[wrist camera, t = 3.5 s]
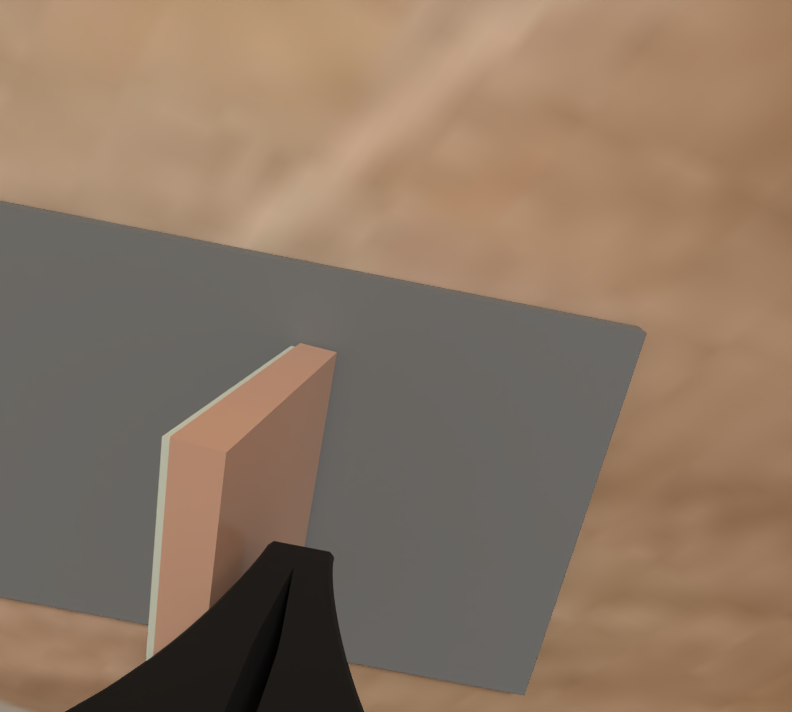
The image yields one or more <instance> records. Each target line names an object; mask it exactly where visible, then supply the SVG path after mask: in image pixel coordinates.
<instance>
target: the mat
mask: <svg viewBox="0 0 792 712" xmlns="http://www.w3.org/2000/svg"><path fill="white" fill-rule="evenodd" d="M646 334H647V333H646V332H645V331H643V330H642V329H641V328H639V327H637V326H632V325H627V324H622V323H617V322H612V321H607V320H602V319H597V318H592V317H586V316H581V315H576V314H571V313H566V312H561V311H556V310H551V309H546V308H541V307H536V306H531V305H526V304H521V303H516V302H511V301H505V300H500V299H495V298H490V297H485V296H480V295H475V294H470V293H465V292H460V291H455V290H450V289H445V288H440V287H435V286H429V285H424V284H419V283H414V282H409V281H404V280H399V279H394V278H389V277H384V276H379V275H374V274H369V273H364V272H359V271H353V270H348V269H343V268H338V267H333V266H328V265H323V264H318V263H313V262H308V261H303V260H298V259H293V258H288V257H283V256H277V255H272V254H267V253H262V252H257V251H252V250H247V249H242V248H237V247H232V246H227V245H222V244H217V243H212V242H207V241H201V240H196V239H191V238H186V237H181V236H176V235H171V234H166V233H161V232H156V231H151V230H146V229H141V228H136V227H131V226H125V225H120V224H115V223H110V222H105V221H100V220H95V219H90V218H85V217H80V216H75V215H70V214H65V213H60V212H55V211H49V210H44V209H39V208H34V207H29V206H24V205H19V204H14V203H9V202H4V201H0V597H2V598H7V599H13V600H18V601H23V602H29V603H34V604H39V605H45V606H50V607H55V608H61V609H66V610H71V611H77V612H82V613H87V614H93V615H98V616H103V617H109V618H114V619H119V620H125V621H130V622H135V623H141V624H146V625H149V611H150V597H151V583H152V569H153V555H154V541H155V527H156V513H157V499H158V486H159V472H160V458H161V444H162V436H163V435H165V434H166V433H168V432H169V431H170V430H172V429H173V428H175V427H176V426H178V425H179V424H180V423H182V422H183V421H185V420H186V419H188V418H189V417H190V416H192V415H193V414H195V413H196V412H198V411H199V410H200V409H202V408H203V407H205V406H206V405H207V404H209V403H210V402H212V401H213V400H215V399H216V398H217V397H219V396H220V395H222V394H223V393H225V392H226V391H227V390H229V389H230V388H232V387H233V386H235V385H236V384H237V383H239V382H240V381H242V380H243V379H244V378H246V377H247V376H249V375H250V374H252V373H253V372H254V371H256V370H257V369H259V368H260V367H262V366H263V365H264V364H266V363H267V362H269V361H270V360H272V359H273V358H274V357H276V356H277V355H279V354H280V353H281V352H283V351H284V350H286V349H287V348H289V347H290V346H294V347H295V346H297V345H298V344H300V343H303V344H307V345H310V346H314V347H318V348H322V349H326V350H330V351H334V352H337V356H336V362H335V368H334V374H333V380H332V386H331V392H330V398H329V404H328V410H327V416H326V422H325V428H324V433H323V439H322V445H321V451H320V457H319V463H318V469H317V475H316V481H315V487H314V493H313V499H312V505H311V511H310V517H309V523H308V529H307V535H306V541H305V547H308V548H313V549H319V550H324V551H329V552H331V554H332V555H333V556H334V561H333V589H334V599H335V607H336V613H337V618H338V624H339V629H340V634H341V639H342V643H343V647H344V651H345V655H346V659H347V662H348V663H354V664H359V665H364V666H370V667H375V668H380V669H386V670H391V671H396V672H402V673H407V674H412V675H418V676H423V677H428V678H434V679H439V680H444V681H450V682H455V683H460V684H466V685H471V686H476V687H482V688H487V689H492V690H498V691H503V692H508V693H514V694H519V695H525V692H526V689H527V686H528V683H529V680H530V677H531V674H532V671H533V668H534V665H535V662H536V659H537V657H538V654H539V651H540V648H541V645H542V642H543V639H544V636H545V633H546V630H547V627H548V624H549V621H550V618H551V615H552V612H553V609H554V606H555V603H556V600H557V597H558V594H559V591H560V588H561V585H562V582H563V579H564V577H565V574H566V571H567V568H568V565H569V562H570V559H571V556H572V553H573V550H574V547H575V544H576V541H577V538H578V535H579V532H580V529H581V526H582V523H583V520H584V517H585V514H586V511H587V508H588V505H589V502H590V499H591V497H592V494H593V491H594V488H595V485H596V482H597V479H598V476H599V473H600V470H601V467H602V464H603V461H604V458H605V455H606V452H607V449H608V446H609V443H610V440H611V437H612V434H613V431H614V428H615V425H616V422H617V419H618V417H619V414H620V411H621V408H622V405H623V402H624V399H625V396H626V393H627V390H628V387H629V384H630V381H631V378H632V375H633V372H634V369H635V366H636V363H637V360H638V357H639V354H640V351H641V348H642V345H643V342H644V339H645V337H646Z"/></svg>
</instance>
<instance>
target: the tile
mask: <svg viewBox="0 0 792 712" xmlns="http://www.w3.org/2000/svg"><path fill="white" fill-rule="evenodd" d="M336 356H337V352H334V351H330V350H326V349H322V348H318V347H314V346H310V345H307V344H303V343H300V344H298V345H297V346H295V347H294V346H290V347H289V348H287V349H286V350H284V351H283V352H281V353H280V354H279V355H277V356H276V357H274V358H273V359H272V360H270V361H269V362H267V363H266V364H264V365H263V366H262V367H260V368H259V369H257V370H256V371H254V372H253V373H252V374H250V375H249V376H247V377H246V378H244V379H243V380H242V381H240V382H239V383H237V384H236V385H235V386H233V387H232V388H230V389H229V390H227V391H226V392H225V393H223V394H222V395H220V396H219V397H217V398H216V399H215V400H213V401H212V402H210V403H209V404H207V405H206V406H205V407H203V408H202V409H200V410H199V411H198V412H196V413H195V414H193V415H192V416H190V417H189V418H188V419H186V420H185V421H183V422H182V423H180V424H179V425H178V426H176V427H175V428H173V429H172V430H170V431H169V432H168V433H166V434H165V435H163V436H162V444H161V458H160V472H159V486H158V499H157V513H156V527H155V541H154V555H153V569H152V583H151V597H150V611H149V625H148V639H147V652H146V661H147V660H148V659H150V658H151V657H152V656H154V655H155V654H156V653H158V652H159V651H160V650H162V649H163V648H164V647H166V646H167V645H168V644H169V643H171V642H172V641H173V640H174V639H176V638H177V637H178V636H179V635H180V634H182V633H183V632H184V631H185V630H186V629H188V628H189V627H190V626H191V625H192V624H193V623H194V622H195V621H197V620H198V619H199V618H200V617H201V616H202V615H203V614H204V613H205V612H207V611H208V610H209V609H210V608H211V607H212V606H213V605H214V604H215V603H216V602H217V601H218V600H219V599H220V598H221V597H222V596H223V595H224V594H225V593H226V592H227V591H228V590H229V589H230V588H231V587H232V586H233V585H234V584H235V583H236V582H237V581H238V580H239V579H240V578H241V577H242V576H243V575H244V573H245V572H246V571H247V570H248V569H249V568H250V567H251V566H252V564H253V563H254V562H255V561H256V560H257V559H258V557H259V556H260V555H261V554H262V552H263V551H264V550H265V548H266V547H267V545H268V544H270V543H272V542H273V541H277V542H282V543H287V544H293V545H298V546H303V547H305V541H306V535H307V529H308V523H309V517H310V511H311V505H312V499H313V493H314V487H315V481H316V475H317V469H318V463H319V457H320V451H321V445H322V439H323V433H324V428H325V422H326V416H327V410H328V404H329V398H330V392H331V386H332V380H333V374H334V368H335V362H336Z"/></svg>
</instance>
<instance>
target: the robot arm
mask: <svg viewBox="0 0 792 712" xmlns="http://www.w3.org/2000/svg"><path fill="white" fill-rule="evenodd" d="M333 561H334V556H333V555H332V554H331V552H329V551H324V550H319V549H313V548H308V547H303V546H298V545H293V544H287V543H282V542H277V541H273V542H272V543H270V544H268V545H267V547H266V548H265V550H264V551H263V552H262V554H261V555H260V556H259V557H258V559H257V560H256V561H255V562H254V563H253V564H252V566H251V567H250V568H249V569H248V570H247V571H246V572H245V573H244V575H243V576H242V577H241V578H240V579H239V580H238V581H237V582H236V583H235V584H234V585H233V586H232V587H231V588H230V589H229V590H228V591H227V592H226V593H225V594H224V595H223V596H222V597H221V598H220V599H219V600H218V601H217V602H216V603H215V604H214V605H213V606H212V607H211V608H210V609H209V610H208V611H207V612H205V613H204V614H203V615H202V616H201V617H200V618H199V619H198V620H197V621H195V622H194V623H193V624H192V625H191V626H190V627H189V628H188V629H186V630H185V631H184V632H183V633H182V634H180V635H179V636H178V637H177V638H176V639H174V640H173V641H172V642H171V643H169V644H168V645H167V646H166V647H164V648H163V649H162V650H160V651H159V652H158V653H156V654H155V655H154V656H152V657H151V658H150V659H148V660H147V661H145V662H144V663H143V664H141V665H140V666H138V667H137V668H135V669H134V670H132V671H131V672H129V673H128V674H127V675H125V676H124V677H122V678H121V679H119V680H118V681H116V682H115V683H113V684H111V685H110V686H108V687H107V688H105V689H104V690H102V691H100V692H99V693H97V694H95V695H94V696H92V697H90V698H88V699H87V700H85V701H83V702H81V703H80V704H78V705H76V706H74V707H73V708H71V709H69V710H67V711H66V712H364V710H363V708H362V705H361V703H360V700H359V697H358V694H357V691H356V688H355V685H354V682H353V679H352V676H351V673H350V669H349V666H348V662H347V659H346V655H345V651H344V647H343V643H342V639H341V634H340V629H339V624H338V618H337V613H336V607H335V599H334V589H333Z"/></svg>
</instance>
